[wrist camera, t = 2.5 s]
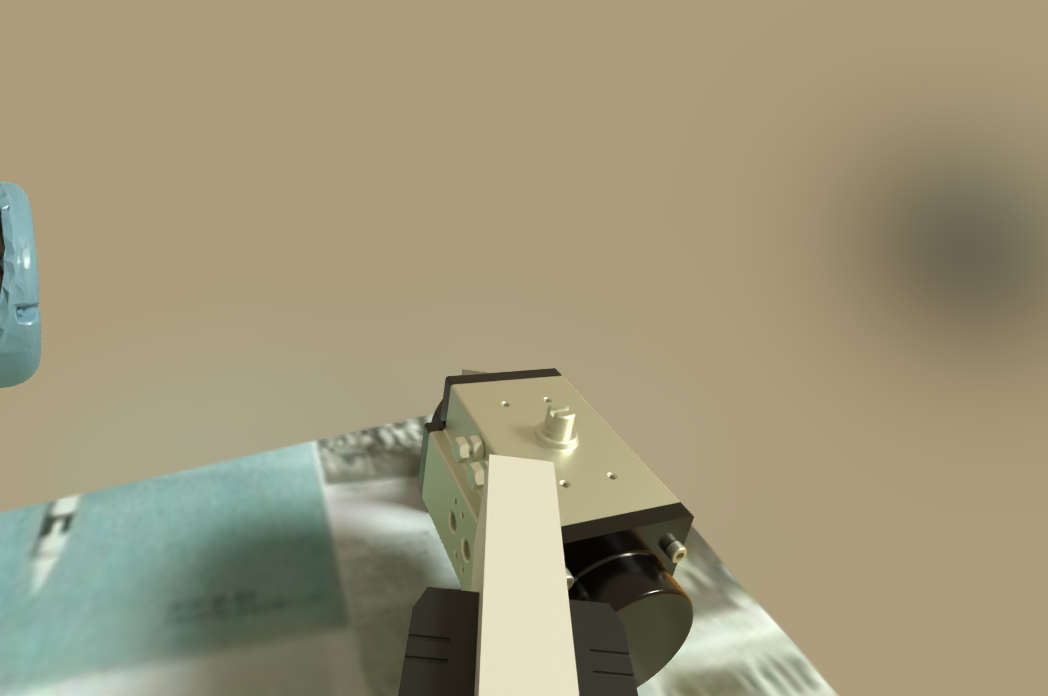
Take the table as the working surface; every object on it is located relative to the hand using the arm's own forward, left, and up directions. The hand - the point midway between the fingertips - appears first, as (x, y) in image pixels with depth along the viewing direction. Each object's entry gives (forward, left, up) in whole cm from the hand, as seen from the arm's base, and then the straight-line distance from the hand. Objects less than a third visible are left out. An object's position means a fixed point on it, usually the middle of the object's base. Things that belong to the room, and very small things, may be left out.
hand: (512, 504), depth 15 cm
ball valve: (+3, +14, -24) cm, 28 cm away
